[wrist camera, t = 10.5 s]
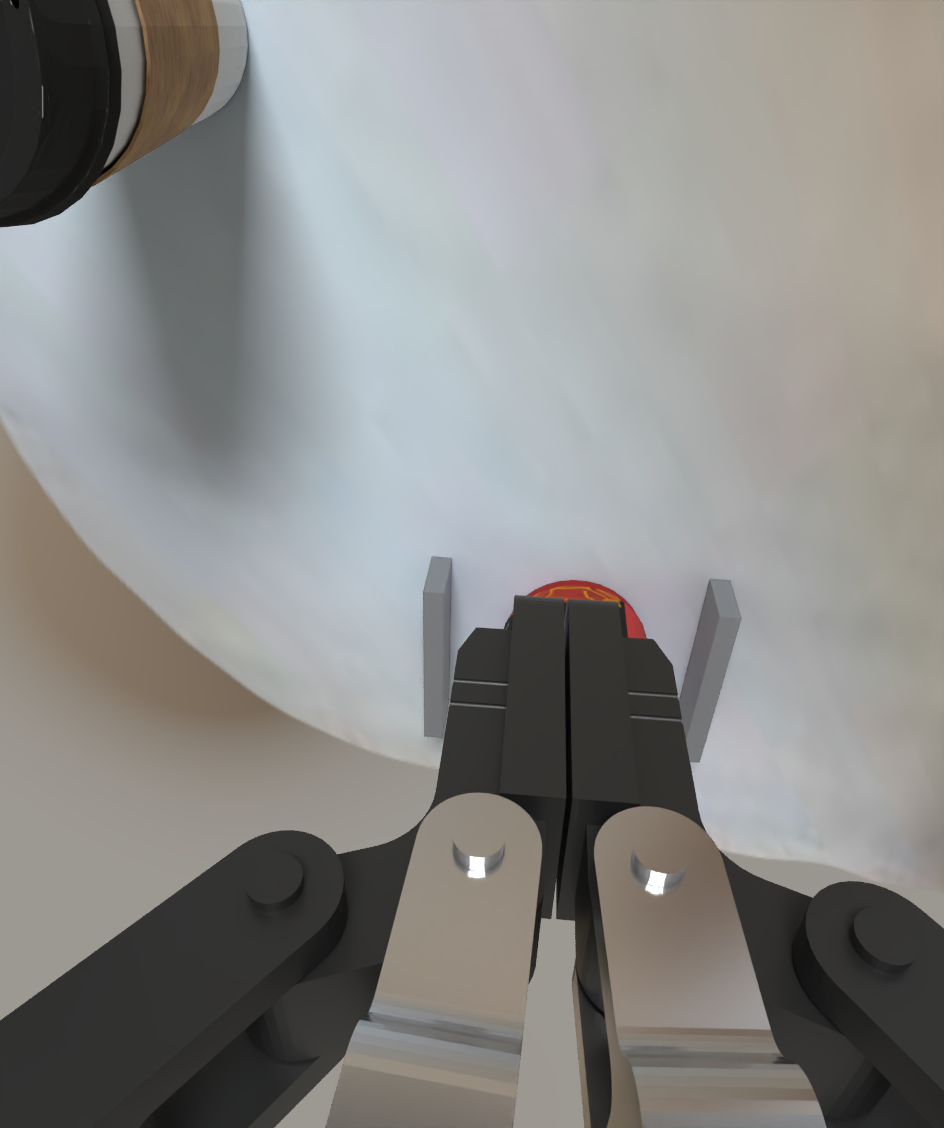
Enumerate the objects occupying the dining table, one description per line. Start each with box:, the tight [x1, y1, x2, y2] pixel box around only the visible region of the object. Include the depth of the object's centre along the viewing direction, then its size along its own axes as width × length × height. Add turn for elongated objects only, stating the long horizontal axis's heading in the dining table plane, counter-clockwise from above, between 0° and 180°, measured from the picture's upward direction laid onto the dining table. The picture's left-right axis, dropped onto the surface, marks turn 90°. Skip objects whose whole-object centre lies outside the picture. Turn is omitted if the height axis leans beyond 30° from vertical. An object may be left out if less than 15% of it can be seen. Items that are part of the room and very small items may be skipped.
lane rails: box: [423, 557, 741, 762], centre depth 41 cm, size 15×10×3 cm, turn 88°
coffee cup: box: [0, 0, 248, 227], centre depth 22 cm, size 8×8×15 cm
